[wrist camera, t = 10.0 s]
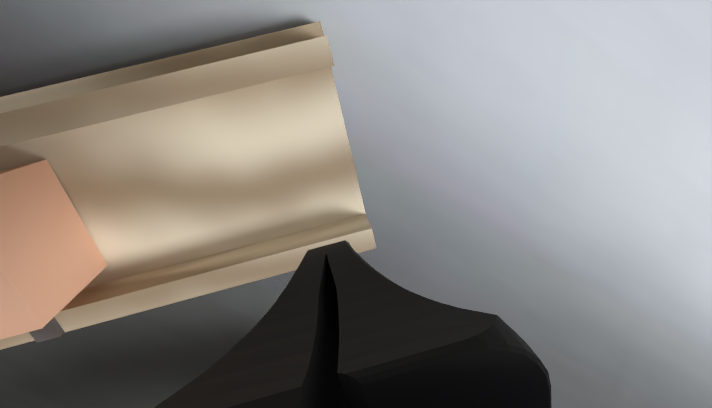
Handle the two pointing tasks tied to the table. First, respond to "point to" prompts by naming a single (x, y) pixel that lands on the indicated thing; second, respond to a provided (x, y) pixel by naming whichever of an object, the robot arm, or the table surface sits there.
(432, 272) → the table surface
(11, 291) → the block
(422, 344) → the robot arm
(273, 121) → the chute
